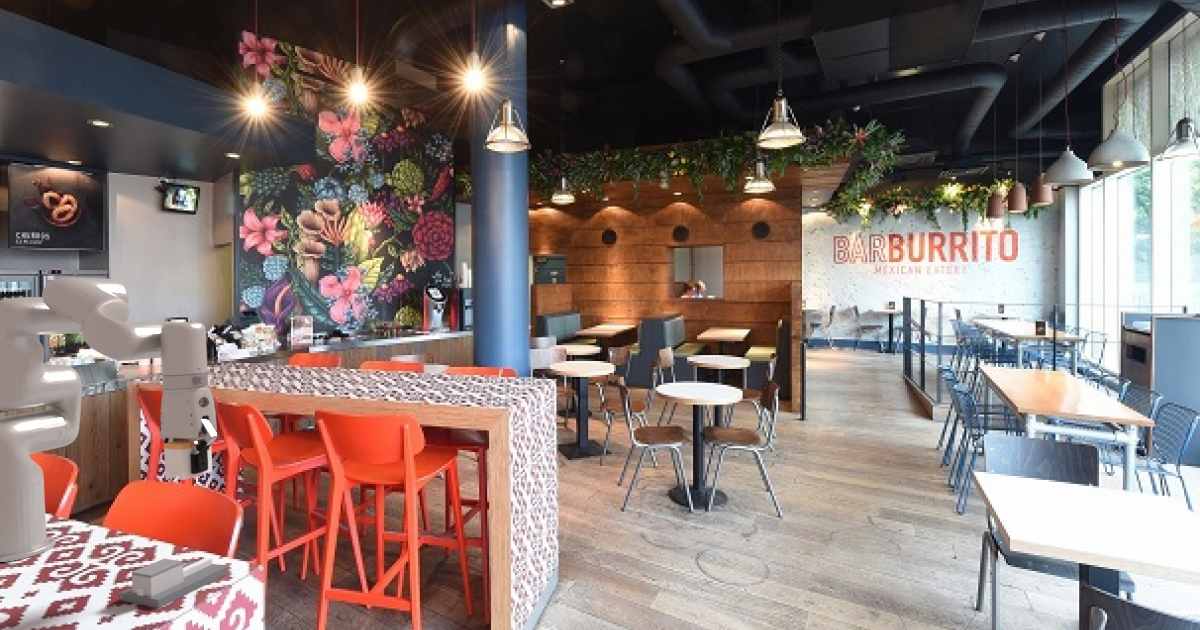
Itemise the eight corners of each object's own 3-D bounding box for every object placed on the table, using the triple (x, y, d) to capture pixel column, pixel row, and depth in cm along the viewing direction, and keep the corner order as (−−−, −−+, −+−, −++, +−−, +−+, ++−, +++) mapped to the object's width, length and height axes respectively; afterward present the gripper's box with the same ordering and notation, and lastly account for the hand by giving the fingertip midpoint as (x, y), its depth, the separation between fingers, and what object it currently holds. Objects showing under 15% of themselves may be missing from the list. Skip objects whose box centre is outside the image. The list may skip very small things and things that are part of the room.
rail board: (120, 600, 109) (119, 571, 109) (193, 567, 123) (192, 541, 123) (158, 607, 106) (157, 578, 106) (228, 573, 120) (227, 547, 120)
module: (165, 478, 116) (163, 443, 116) (194, 469, 122) (193, 436, 122) (183, 479, 114) (182, 444, 114) (212, 471, 120) (210, 437, 120)
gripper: (234, 380, 119) (237, 468, 119) (173, 379, 124) (177, 463, 124) (198, 386, 112) (202, 479, 112) (136, 384, 117) (140, 473, 117)
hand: (189, 470), depth 118 cm, fingers closed on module, 5 cm apart
